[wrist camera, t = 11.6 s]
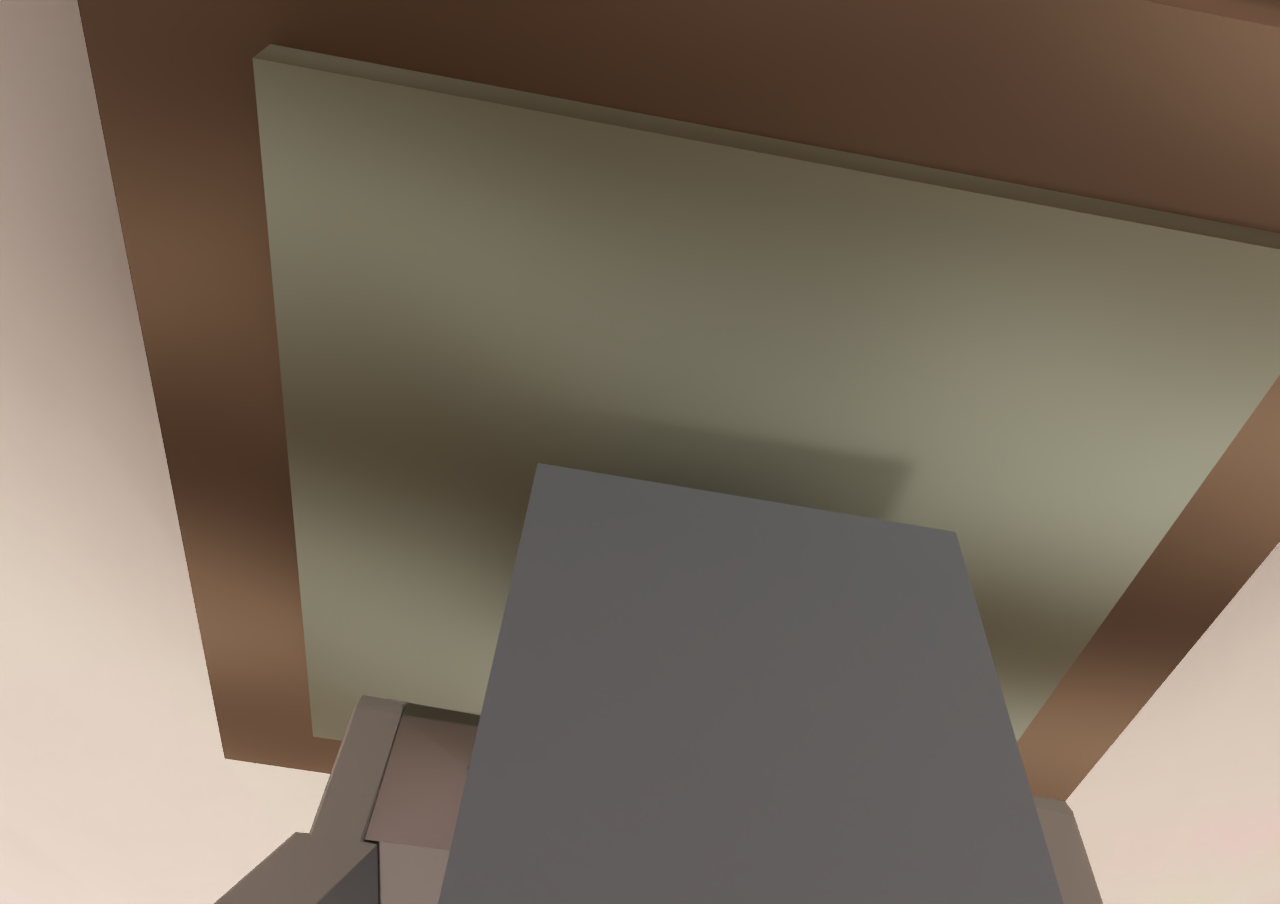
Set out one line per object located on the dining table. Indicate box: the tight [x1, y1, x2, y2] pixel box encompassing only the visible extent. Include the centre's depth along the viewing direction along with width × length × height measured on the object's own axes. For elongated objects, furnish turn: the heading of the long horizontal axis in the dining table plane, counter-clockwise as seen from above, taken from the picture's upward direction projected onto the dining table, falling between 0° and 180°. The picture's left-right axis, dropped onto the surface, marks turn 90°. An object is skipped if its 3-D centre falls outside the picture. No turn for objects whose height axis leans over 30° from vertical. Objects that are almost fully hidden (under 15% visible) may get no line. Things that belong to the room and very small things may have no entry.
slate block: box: [438, 463, 1064, 904], centre depth 10 cm, size 5×5×6 cm
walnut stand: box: [78, 0, 1280, 801], centre depth 15 cm, size 16×16×4 cm
